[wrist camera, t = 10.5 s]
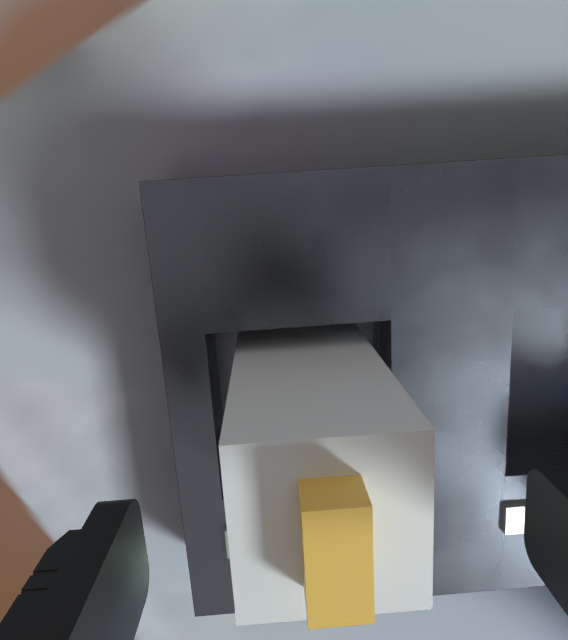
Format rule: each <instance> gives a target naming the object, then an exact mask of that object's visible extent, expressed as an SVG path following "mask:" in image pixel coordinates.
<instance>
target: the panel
mask: <svg viewBox="0 0 568 640" xmlns="http://www.w3.org/2000/svg"><path fill="white" fill-rule="evenodd" d="M139 184H140V192H141V200H142V207H143V215H144V223H145V231H146V239H147V246H148V254H149V262H150V270H151V277H152V285H153V293H154V301H155V309H156V316H157V324H158V332H159V340H160V348H161V355H162V363H163V371H164V379H165V387H166V394H167V402H168V410H169V418H170V425H171V433H172V441H173V449H174V457H175V464H176V472H177V480H178V488H179V496H180V503H181V511H182V519H183V527H184V534H185V542H186V550H187V558H188V566H189V573H190V581H191V589H192V597H193V605H194V612H195V617H196V616H207V615H218V614H230V613H235V606H234V596H233V586H232V576H231V566H230V556H229V546H228V536H227V526H226V516H225V506H224V496H223V486H222V476H221V466H220V456H219V440H220V435H221V429H222V423H223V417H224V412H225V406H226V400H227V394H228V389H229V383H230V377H231V372H232V366H233V360H234V354H235V349H236V343H237V337H238V332H243V331H258V330H273V329H287V328H302V327H316V326H331V325H346V324H356V325H357V327H358V328H359V329H360V331H361V332H362V333H363V335H364V336H365V337H366V339H367V340H368V341H369V343H370V344H371V345H372V347H373V348H374V349H375V351H376V352H377V353H378V355H379V356H380V357H381V359H382V360H383V361H384V363H385V364H386V365H387V367H388V368H389V369H390V370H391V372H392V373H393V374H394V376H395V377H396V378H397V380H398V381H399V382H400V384H401V385H402V386H403V388H404V389H405V390H406V392H407V393H408V394H409V396H410V397H411V398H412V400H413V401H414V402H415V404H416V405H417V406H418V408H419V409H420V410H421V412H422V413H423V414H424V416H425V417H426V418H427V420H428V421H429V422H430V424H431V425H432V426H433V427H434V429H435V475H434V538H433V596H434V595H446V594H457V593H468V592H480V591H491V590H502V589H514V588H525V587H537V586H546V585H545V584H544V582H543V581H542V579H541V578H540V577H539V575H538V574H537V572H536V571H535V570H534V568H533V566H532V565H531V563H530V560H529V558H528V555H527V552H526V548H525V543H524V520H525V503H526V486H527V477H528V474H529V472H530V471H531V470H532V469H541V468H554V467H567V466H568V154H565V155H550V156H534V157H518V158H502V159H486V160H470V161H455V162H439V163H423V164H407V165H391V166H375V167H360V168H344V169H328V170H312V171H296V172H280V173H265V174H249V175H233V176H217V177H201V178H186V179H170V180H154V181H139Z"/></svg>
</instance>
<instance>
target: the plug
mask: <svg viewBox="0 0 568 640" xmlns="http://www.w3.org/2000/svg"><path fill="white" fill-rule="evenodd" d="M219 456H220V466H221V476H222V486H223V496H224V506H225V516H226V526H227V536H228V546H229V556H230V566H231V576H232V586H233V596H234V606H235V616H236V626H242V625H253V624H265V623H277V622H288V621H300V620H307V623H308V629H320V628H331V627H343V626H354V625H366V624H375V614H382V613H393V612H405V611H417V610H428V609H432V601H433V538H434V475H435V429H434V427H433V426H432V425H431V424H430V422H429V421H428V420H427V418H426V417H425V416H424V414H423V413H422V412H421V410H420V409H419V408H418V406H417V405H416V404H415V402H414V401H413V400H412V398H411V397H410V396H409V394H408V393H407V392H406V390H405V389H404V388H403V386H402V385H401V384H400V382H399V381H398V380H397V378H396V377H395V376H394V374H393V373H392V372H391V370H390V369H389V368H388V367H387V365H386V364H385V363H384V361H383V360H382V359H381V357H380V356H379V355H378V353H377V352H376V351H375V349H374V348H373V347H372V345H371V344H370V343H369V341H368V340H367V339H366V337H365V336H364V335H363V333H362V332H361V331H360V329H359V328H358V327H357V325H356V324H346V325H331V326H316V327H302V328H287V329H273V330H258V331H243V332H238V337H237V343H236V349H235V354H234V360H233V366H232V372H231V377H230V383H229V389H228V394H227V400H226V406H225V412H224V417H223V423H222V429H221V435H220V440H219Z"/></svg>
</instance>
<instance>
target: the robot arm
mask: <svg viewBox="0 0 568 640" xmlns="http://www.w3.org/2000/svg"><path fill="white" fill-rule="evenodd" d="M524 543H525V548H526V552H527V555H528V558H529V560H530V563H531V565H532V566H533V568H534V570H535V571H536V572H537V574H538V575H539V577H540V578H541V579H542V581H543V582H544V584H545V585H546V586H547V588H548V589H549V590H550V592H551V593H552V595H553V596H554V597H555V599H556V600H557V602H558V603H559V604H560V606H561V607H562V608H563V610H564V611H565V613H566V614H567V615H568V466H567V467H554V468H541V469H532V470H531V471H530V472H529V474H528V477H527V486H526V503H525V520H524ZM148 585H149V563H148V556H147V550H146V544H145V537H144V531H143V524H142V518H141V511H140V506H139V503H138V501H137V500H136V499H128V500H115V501H102V502H97V503H96V504H95V506H94V508H93V509H92V511H91V513H90V515H89V516H88V518H87V520H86V522H85V524H84V525H83V527H82V529H80V530H69V531H68V532H67V533H65V534H64V535H63V536H62V537H61V538H60V539H59V540H57V541H56V542H55V543H54V544H53V545H52V546H50V547H49V548H48V549H47V550H46V552H45V553H44V555H43V557H42V558H41V560H40V561H39V563H38V564H37V566H36V568H35V569H34V571H33V575H32V576H30V577H29V579H28V580H27V582H26V583H25V585H24V587H23V588H22V592H21V594H20V595H18V597H17V598H16V599H15V601H14V602H13V604H12V606H11V607H10V609H9V610H8V612H7V614H6V615H5V617H4V618H3V620H2V622H1V623H0V640H134V637H135V634H136V631H137V627H138V624H139V621H140V618H141V614H142V611H143V608H144V604H145V601H146V597H147V593H148Z"/></svg>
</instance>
